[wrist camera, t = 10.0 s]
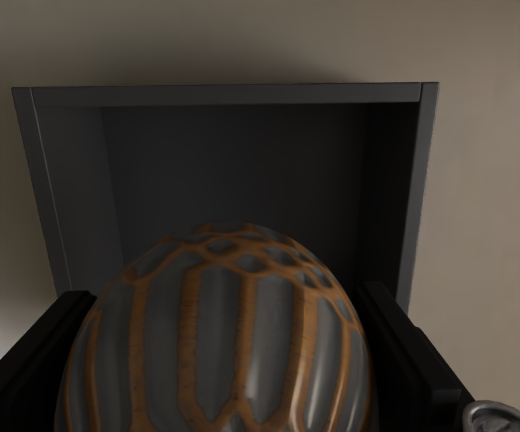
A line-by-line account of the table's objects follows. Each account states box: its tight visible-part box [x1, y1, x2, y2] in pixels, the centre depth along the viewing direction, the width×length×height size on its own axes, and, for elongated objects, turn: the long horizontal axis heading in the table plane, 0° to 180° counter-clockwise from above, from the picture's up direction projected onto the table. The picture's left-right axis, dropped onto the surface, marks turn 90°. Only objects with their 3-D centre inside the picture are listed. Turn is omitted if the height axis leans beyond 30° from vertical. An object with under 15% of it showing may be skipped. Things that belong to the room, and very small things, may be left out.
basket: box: [11, 82, 440, 317], centre depth 18 cm, size 15×13×6 cm
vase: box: [53, 221, 379, 432], centre depth 8 cm, size 7×7×9 cm
